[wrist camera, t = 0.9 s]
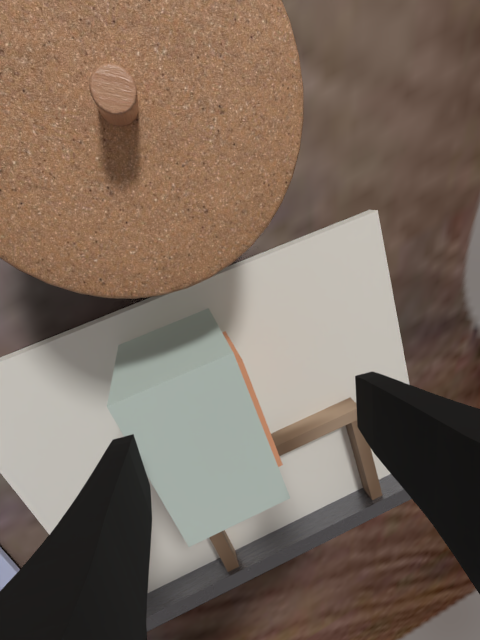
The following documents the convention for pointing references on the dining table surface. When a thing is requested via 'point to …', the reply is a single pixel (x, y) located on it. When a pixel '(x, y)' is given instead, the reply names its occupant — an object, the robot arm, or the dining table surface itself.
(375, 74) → the dining table surface
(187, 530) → the carton
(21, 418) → the white square tray
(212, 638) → the dining table surface
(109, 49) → the lidded jar
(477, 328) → the dining table surface
